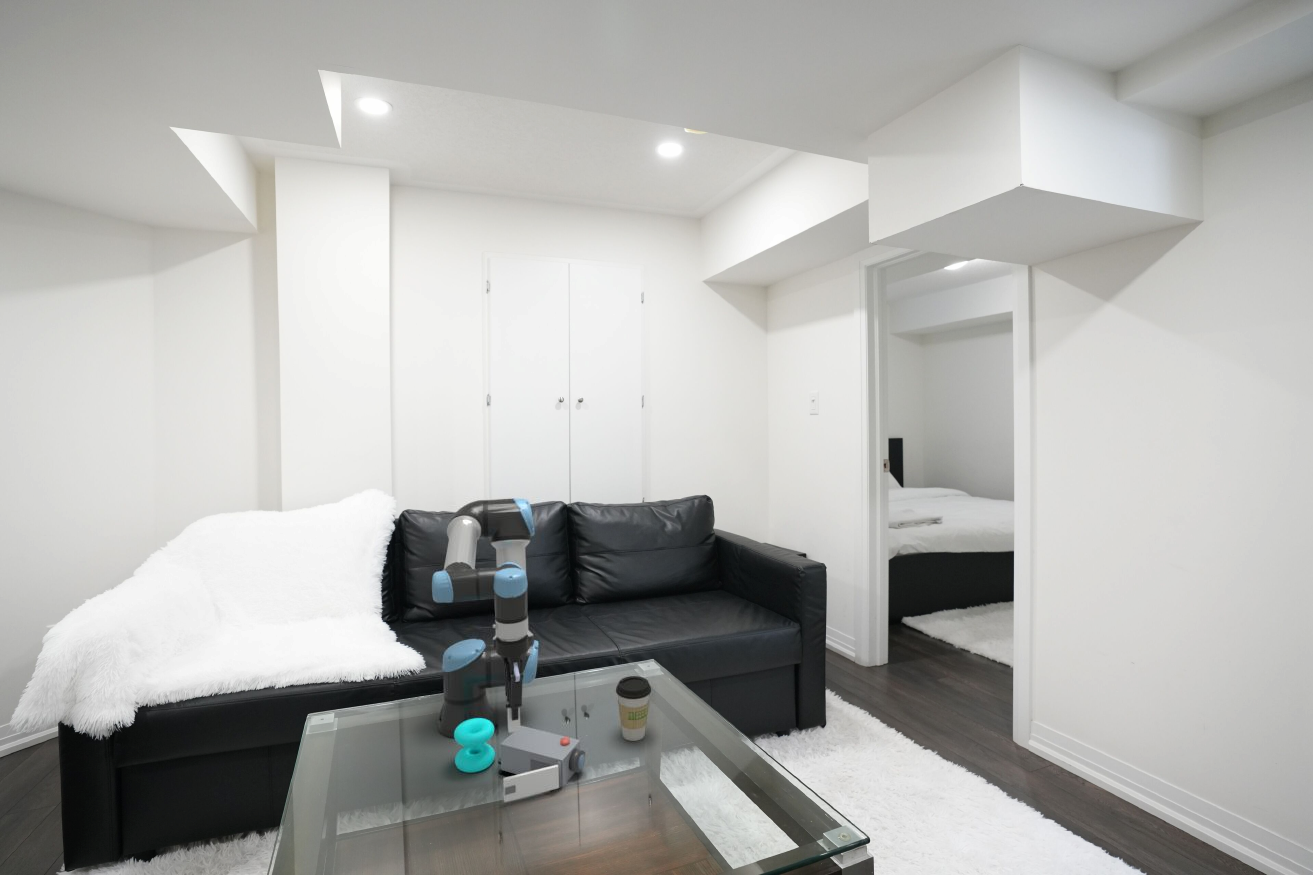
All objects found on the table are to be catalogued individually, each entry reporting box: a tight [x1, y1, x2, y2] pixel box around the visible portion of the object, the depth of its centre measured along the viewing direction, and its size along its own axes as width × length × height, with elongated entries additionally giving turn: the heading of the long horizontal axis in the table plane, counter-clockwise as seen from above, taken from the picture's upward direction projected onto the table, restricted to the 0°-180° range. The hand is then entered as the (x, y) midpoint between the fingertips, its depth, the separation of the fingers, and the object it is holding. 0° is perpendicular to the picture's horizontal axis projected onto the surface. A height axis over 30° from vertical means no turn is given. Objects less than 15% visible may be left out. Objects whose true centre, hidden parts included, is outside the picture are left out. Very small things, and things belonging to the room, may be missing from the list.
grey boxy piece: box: [499, 725, 586, 788], centre depth 162 cm, size 20×9×8 cm, turn 68°
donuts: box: [453, 718, 496, 773], centre depth 164 cm, size 10×10×10 cm
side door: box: [502, 761, 562, 803], centre depth 151 cm, size 14×2×6 cm, turn 113°
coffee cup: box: [615, 675, 652, 742], centre depth 177 cm, size 10×10×15 cm
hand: (514, 729), depth 152 cm, fingers closed
